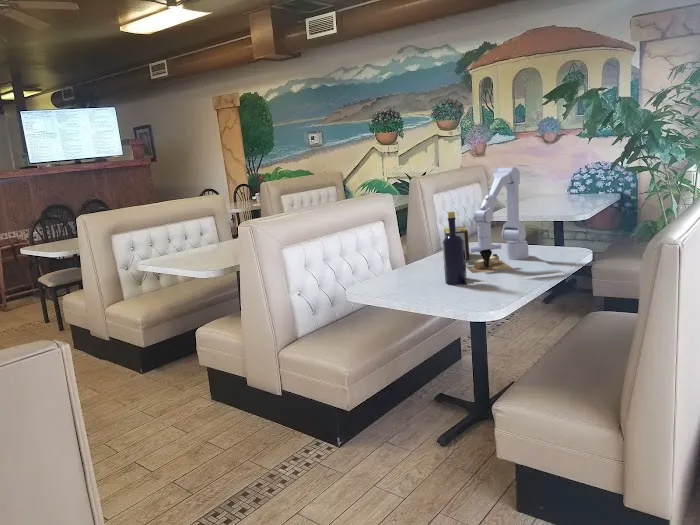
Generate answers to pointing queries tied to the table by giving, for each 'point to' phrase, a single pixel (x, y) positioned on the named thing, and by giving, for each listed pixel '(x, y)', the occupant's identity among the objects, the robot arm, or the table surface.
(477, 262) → the leg
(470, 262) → the bar
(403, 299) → the table surface
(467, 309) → the table surface
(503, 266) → the stool board
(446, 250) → the bottle
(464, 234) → the protein box
